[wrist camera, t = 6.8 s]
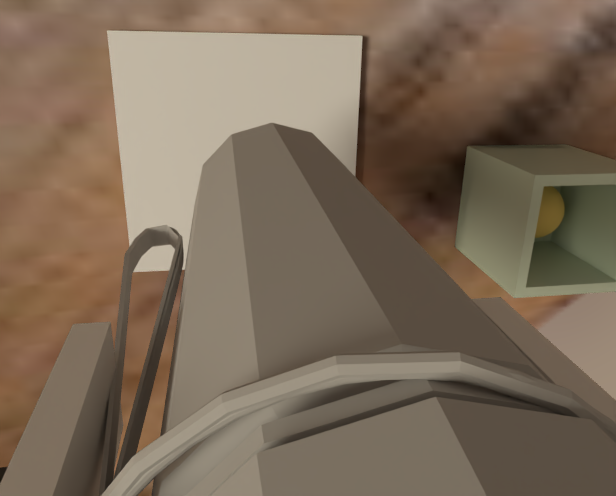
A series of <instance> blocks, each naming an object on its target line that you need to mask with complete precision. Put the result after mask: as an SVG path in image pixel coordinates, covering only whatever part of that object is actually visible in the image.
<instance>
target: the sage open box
mask: <svg viewBox="0 0 616 496" xmlns="http://www.w3.org/2000/svg"><path fill="white" fill-rule="evenodd" d="M544 186H553V187H554V188H555V189H557V191H558V192H559V193H560V194H561V196H562V198H563V201H564V205H565V212H564V217H563V220H562V222H561V223H560V225H559V226H558V227H557V228H556V229H555V230H554V231H553V232H552V233H550V234H548V235H546V236H543V237H539V238H535V233H536V227H537V222H538V216H539V211H540V205H541V200H542V194H543V188H544ZM455 247H456V248H457V249H458V250H459V251H460V252H461V253H463V254H464V255H465V256H466V257H467V258H468V259H470V260H471V261H472V262H473V263H474V264H475V265H477V266H478V267H479V268H480V269H481V270H482V271H483V272H485V273H486V274H487V275H488V276H489V277H490V278H492V279H493V280H494V281H495V282H496V283H497V284H499V285H500V286H501V287H502V288H503V289H504V290H505V291H507V292H508V293H509V294H510V295H511V296H512V297H514V298H521V297H537V296H553V295H569V294H584V293H600V292H616V160H614V159H611V158H608V157H604V156H601V155H598V154H595V153H592V152H588V151H585V150H582V149H579V148H576V147H572V146H569V145H566V144H562V145H489V146H467V153H466V161H465V169H464V177H463V185H462V193H461V201H460V209H459V217H458V226H457V234H456V242H455Z"/></svg>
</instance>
